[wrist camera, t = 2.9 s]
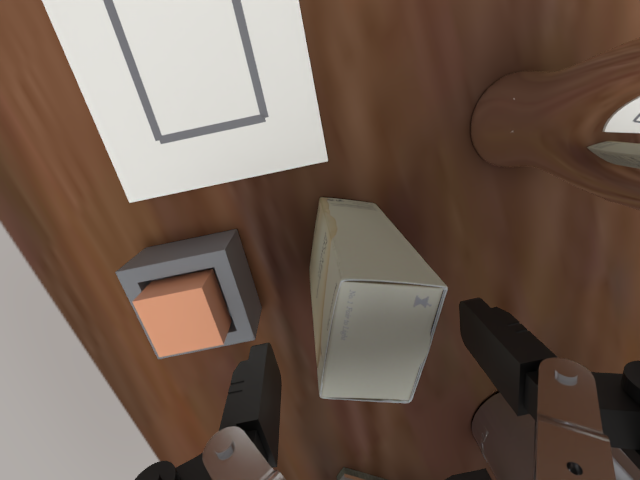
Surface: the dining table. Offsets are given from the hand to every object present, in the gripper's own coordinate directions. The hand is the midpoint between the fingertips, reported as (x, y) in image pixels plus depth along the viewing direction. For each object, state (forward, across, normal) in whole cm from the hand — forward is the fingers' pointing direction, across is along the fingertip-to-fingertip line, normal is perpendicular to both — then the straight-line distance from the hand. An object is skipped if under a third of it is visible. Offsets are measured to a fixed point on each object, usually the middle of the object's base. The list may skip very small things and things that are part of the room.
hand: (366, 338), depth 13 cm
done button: (+9, +10, +1) cm, 14 cm away
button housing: (+12, +10, +1) cm, 16 cm away
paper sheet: (+12, +6, -14) cm, 19 cm away
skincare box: (+12, -1, 0) cm, 12 cm away
